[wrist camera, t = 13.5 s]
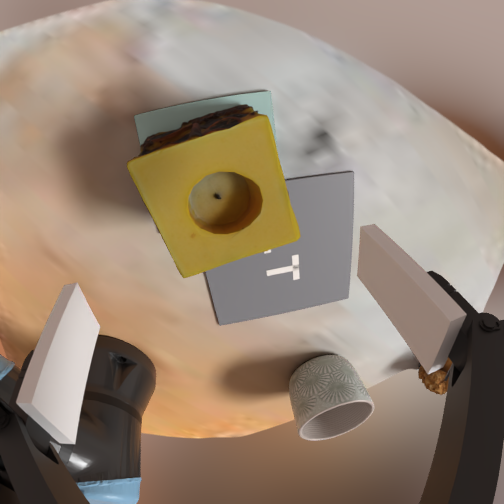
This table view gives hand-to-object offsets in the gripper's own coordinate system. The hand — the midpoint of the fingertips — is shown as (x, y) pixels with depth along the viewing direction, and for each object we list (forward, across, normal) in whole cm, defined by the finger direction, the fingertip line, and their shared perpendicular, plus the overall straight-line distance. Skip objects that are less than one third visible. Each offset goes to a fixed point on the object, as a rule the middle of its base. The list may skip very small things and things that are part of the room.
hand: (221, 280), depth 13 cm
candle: (+19, +1, 0) cm, 19 cm away
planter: (+20, +12, -37) cm, 43 cm away
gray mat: (+19, +7, -12) cm, 23 cm away
